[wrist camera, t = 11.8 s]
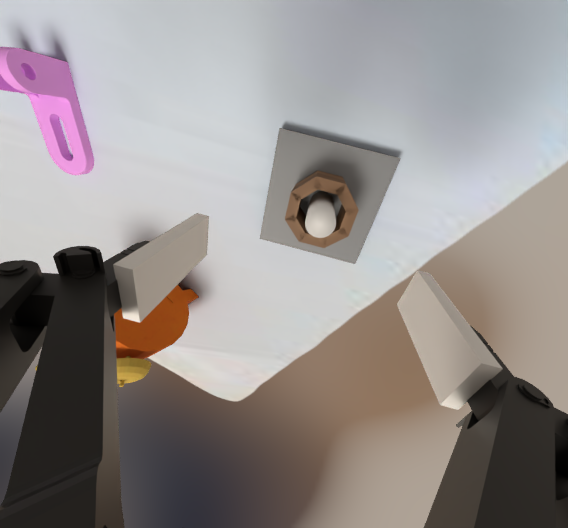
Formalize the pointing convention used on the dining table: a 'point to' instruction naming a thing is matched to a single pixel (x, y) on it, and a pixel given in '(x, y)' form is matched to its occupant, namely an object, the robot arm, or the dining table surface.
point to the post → (323, 205)
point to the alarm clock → (149, 334)
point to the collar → (327, 184)
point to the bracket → (50, 104)
